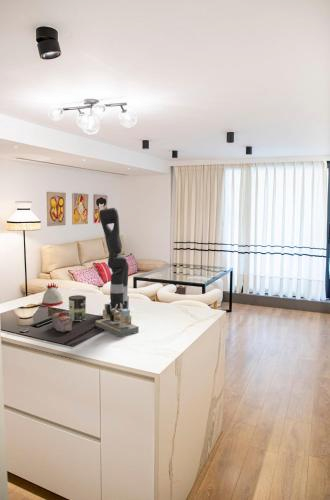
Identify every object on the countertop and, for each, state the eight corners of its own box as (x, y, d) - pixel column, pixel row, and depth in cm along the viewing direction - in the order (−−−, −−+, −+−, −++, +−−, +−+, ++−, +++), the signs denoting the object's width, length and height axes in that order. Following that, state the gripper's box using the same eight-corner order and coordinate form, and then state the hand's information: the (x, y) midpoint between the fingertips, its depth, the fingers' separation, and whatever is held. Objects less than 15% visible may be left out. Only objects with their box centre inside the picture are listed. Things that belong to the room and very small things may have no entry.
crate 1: (109, 308, 219) (109, 302, 218) (112, 309, 216) (112, 304, 216) (104, 309, 216) (104, 303, 216) (107, 310, 214) (108, 305, 213)
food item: (74, 331, 206) (74, 314, 205) (61, 334, 200) (61, 316, 199) (62, 325, 215) (61, 309, 214) (49, 328, 210) (49, 311, 209)
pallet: (110, 316, 220) (110, 308, 219) (131, 324, 206) (131, 315, 205) (102, 318, 216) (102, 309, 216) (123, 326, 202) (123, 317, 201)
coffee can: (88, 317, 231) (88, 295, 230) (81, 322, 221) (81, 299, 220) (73, 316, 233) (73, 294, 232) (65, 321, 223) (65, 298, 222)
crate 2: (125, 314, 207) (125, 308, 207) (129, 316, 204) (129, 310, 204) (120, 315, 205) (120, 309, 204) (124, 317, 202) (124, 311, 202)
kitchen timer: (41, 301, 267) (41, 281, 266) (60, 300, 273) (60, 280, 272) (43, 306, 255) (43, 285, 253) (64, 304, 261) (63, 284, 259)
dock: (113, 321, 224) (113, 316, 224) (138, 331, 207) (138, 326, 207) (95, 325, 215) (95, 320, 215) (119, 336, 198) (119, 331, 198)
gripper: (123, 288, 217) (122, 316, 218) (102, 291, 207) (102, 321, 209) (131, 290, 211) (130, 319, 213) (110, 294, 201) (110, 324, 203)
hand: (116, 320), depth 211 cm, fingers closed on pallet, 5 cm apart
